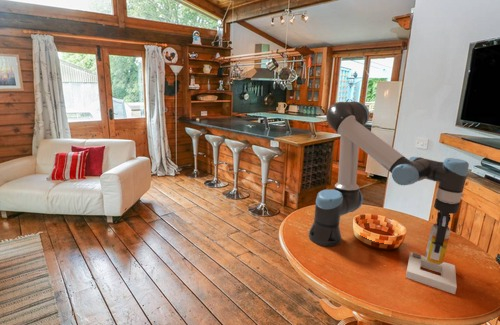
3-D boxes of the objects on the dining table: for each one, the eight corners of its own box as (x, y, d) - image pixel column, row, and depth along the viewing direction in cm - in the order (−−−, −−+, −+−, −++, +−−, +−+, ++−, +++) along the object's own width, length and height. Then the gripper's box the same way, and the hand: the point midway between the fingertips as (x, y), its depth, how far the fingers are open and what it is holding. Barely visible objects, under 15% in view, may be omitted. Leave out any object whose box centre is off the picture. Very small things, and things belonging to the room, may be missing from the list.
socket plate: (405, 277, 112) (407, 269, 111) (409, 258, 125) (410, 250, 124) (454, 294, 104) (457, 285, 103) (453, 271, 117) (455, 263, 116)
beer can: (445, 267, 109) (454, 231, 105) (427, 264, 110) (435, 229, 106) (438, 258, 115) (446, 224, 111) (422, 255, 116) (429, 222, 112)
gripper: (461, 211, 96) (446, 270, 102) (458, 194, 112) (445, 247, 118) (435, 206, 100) (422, 263, 106) (436, 190, 116) (424, 241, 122)
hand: (434, 254), depth 112 cm, fingers closed on beer can, 6 cm apart
